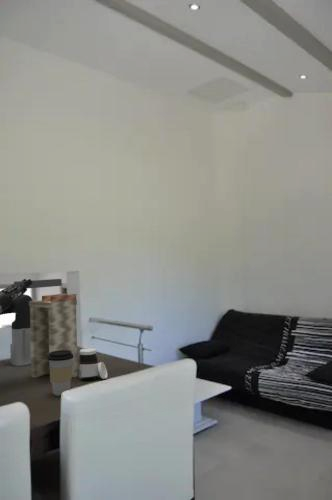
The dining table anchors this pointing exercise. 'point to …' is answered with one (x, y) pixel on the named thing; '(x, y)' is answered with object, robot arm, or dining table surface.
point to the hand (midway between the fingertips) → (28, 281)
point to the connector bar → (41, 283)
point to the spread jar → (90, 365)
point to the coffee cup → (60, 370)
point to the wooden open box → (52, 331)
